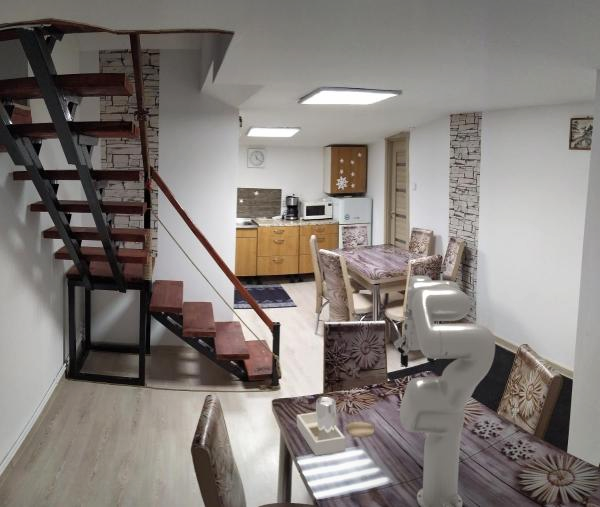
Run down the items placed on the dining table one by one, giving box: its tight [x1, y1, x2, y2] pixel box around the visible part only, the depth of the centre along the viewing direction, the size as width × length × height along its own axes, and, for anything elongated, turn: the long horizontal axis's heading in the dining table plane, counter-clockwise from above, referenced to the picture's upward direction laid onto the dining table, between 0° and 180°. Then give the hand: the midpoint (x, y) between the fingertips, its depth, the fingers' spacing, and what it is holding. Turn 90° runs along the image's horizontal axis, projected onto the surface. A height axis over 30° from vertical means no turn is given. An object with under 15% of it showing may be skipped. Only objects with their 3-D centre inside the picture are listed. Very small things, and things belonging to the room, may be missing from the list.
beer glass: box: [315, 396, 337, 441], centre depth 184 cm, size 7×7×15 cm
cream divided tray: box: [296, 411, 346, 456], centre depth 190 cm, size 21×10×5 cm, turn 18°
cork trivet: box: [346, 421, 375, 438], centre depth 196 cm, size 10×10×1 cm
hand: (417, 364), depth 178 cm, fingers open, 9 cm apart
